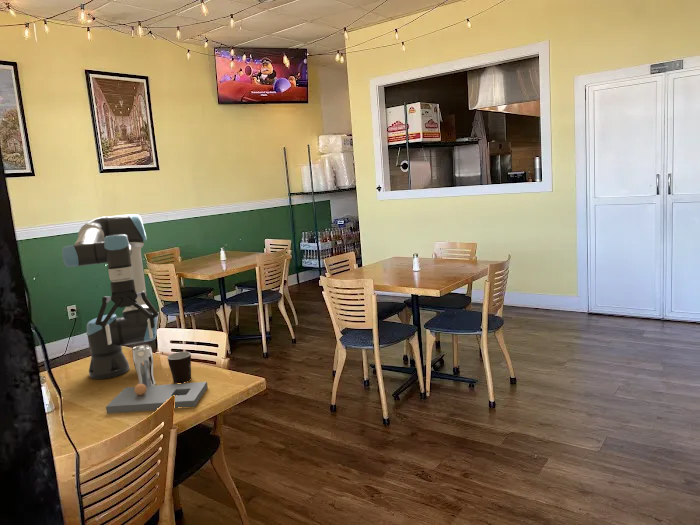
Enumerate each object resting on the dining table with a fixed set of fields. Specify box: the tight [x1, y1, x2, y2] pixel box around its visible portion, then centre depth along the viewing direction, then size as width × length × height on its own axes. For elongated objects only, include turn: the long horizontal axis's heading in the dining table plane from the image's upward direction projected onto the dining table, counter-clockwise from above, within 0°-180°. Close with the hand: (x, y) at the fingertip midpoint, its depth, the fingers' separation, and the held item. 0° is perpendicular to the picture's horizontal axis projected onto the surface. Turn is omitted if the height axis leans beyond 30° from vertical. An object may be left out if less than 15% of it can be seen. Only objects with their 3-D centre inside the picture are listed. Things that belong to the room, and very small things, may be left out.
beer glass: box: [131, 344, 157, 386], centre depth 205 cm, size 7×7×15 cm
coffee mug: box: [166, 351, 192, 384], centre depth 209 cm, size 12×9×10 cm
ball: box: [134, 383, 147, 395], centre depth 191 cm, size 4×4×4 cm
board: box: [105, 381, 209, 414], centre depth 191 cm, size 30×16×2 cm, turn 89°
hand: (130, 340), depth 188 cm, fingers open, 13 cm apart
